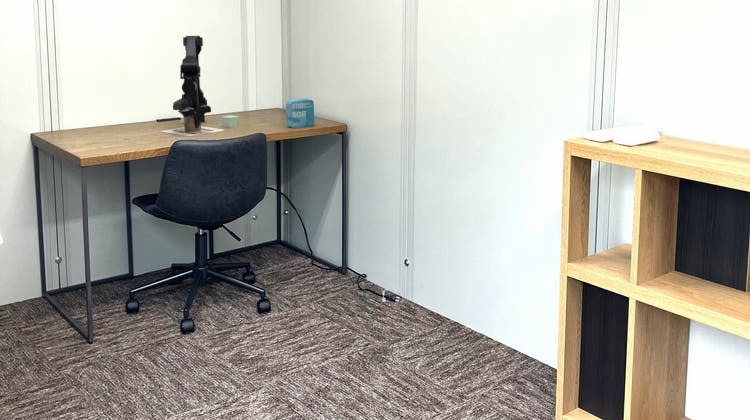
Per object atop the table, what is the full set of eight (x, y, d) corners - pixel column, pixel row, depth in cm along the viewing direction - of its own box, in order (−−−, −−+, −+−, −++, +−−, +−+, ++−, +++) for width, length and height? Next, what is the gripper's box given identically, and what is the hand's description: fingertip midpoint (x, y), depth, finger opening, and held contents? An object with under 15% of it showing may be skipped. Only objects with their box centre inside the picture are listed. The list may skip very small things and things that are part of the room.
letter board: (159, 133, 395) (159, 131, 394) (195, 127, 410) (195, 125, 410) (190, 138, 383) (190, 136, 382) (226, 132, 398) (226, 129, 398)
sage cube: (221, 128, 407) (220, 116, 406) (230, 127, 411) (230, 115, 410) (229, 130, 404) (229, 117, 402) (239, 128, 408) (238, 116, 407)
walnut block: (184, 130, 396) (183, 116, 394) (193, 129, 399) (192, 115, 398) (192, 131, 393) (191, 117, 391) (201, 130, 396) (200, 116, 395)
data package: (290, 128, 409) (290, 101, 406) (286, 127, 412) (285, 100, 409) (314, 126, 415) (314, 99, 412) (309, 124, 419) (309, 98, 416)
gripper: (161, 91, 391) (163, 127, 395) (190, 95, 380) (192, 132, 384) (182, 89, 400) (184, 124, 404) (211, 92, 388) (212, 129, 392)
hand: (192, 127), depth 396 cm, fingers closed on walnut block, 5 cm apart
